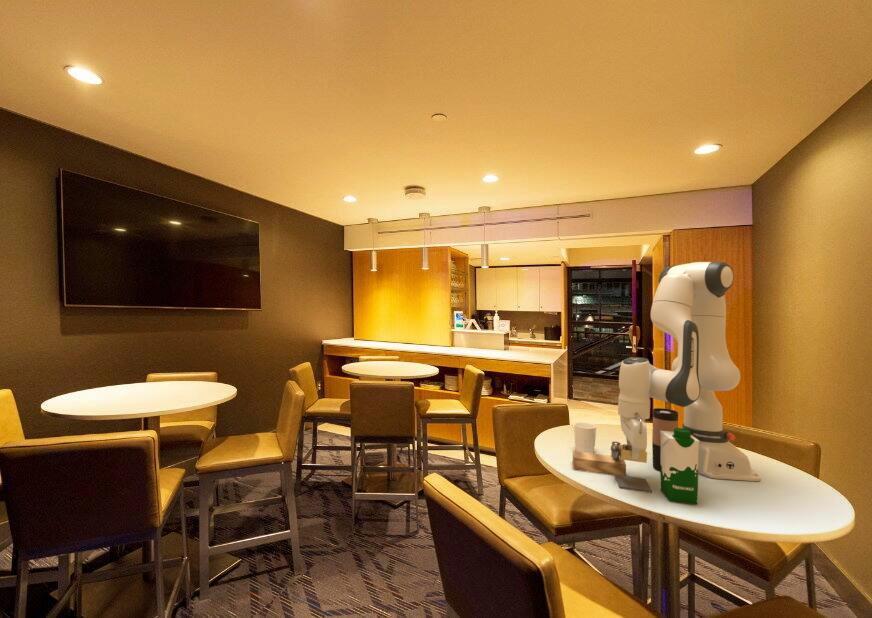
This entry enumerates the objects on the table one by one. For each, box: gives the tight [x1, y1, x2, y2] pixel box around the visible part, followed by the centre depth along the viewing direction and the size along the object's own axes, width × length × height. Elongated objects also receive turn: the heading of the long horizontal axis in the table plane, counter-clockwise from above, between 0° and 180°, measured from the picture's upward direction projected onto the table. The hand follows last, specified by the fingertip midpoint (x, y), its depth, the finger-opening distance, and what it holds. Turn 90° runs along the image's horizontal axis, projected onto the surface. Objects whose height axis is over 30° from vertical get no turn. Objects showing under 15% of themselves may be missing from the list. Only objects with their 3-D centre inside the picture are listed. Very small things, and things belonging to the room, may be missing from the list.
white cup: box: [573, 422, 597, 454], centre depth 147 cm, size 8×8×10 cm
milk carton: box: [659, 427, 699, 506], centre depth 110 cm, size 9×9×20 cm
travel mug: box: [651, 407, 679, 472], centre depth 131 cm, size 8×8×20 cm
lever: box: [610, 441, 622, 458], centre depth 125 cm, size 10×3×4 cm, turn 150°
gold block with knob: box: [619, 443, 648, 464], centre depth 118 cm, size 7×5×4 cm
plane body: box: [572, 450, 627, 476], centre depth 129 cm, size 16×7×7 cm, turn 73°
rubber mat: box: [614, 475, 654, 494], centre depth 118 cm, size 9×9×1 cm
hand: (632, 454), depth 118 cm, fingers closed on gold block with knob, 5 cm apart
